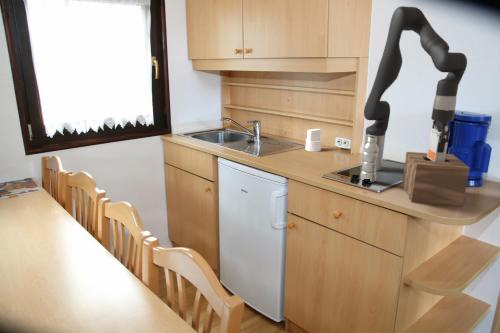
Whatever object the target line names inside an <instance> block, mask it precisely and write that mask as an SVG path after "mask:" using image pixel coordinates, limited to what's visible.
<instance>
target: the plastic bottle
mask: <svg viewBox="0 0 500 333" xmlns="http://www.w3.org/2000/svg"><path fill="white" fill-rule="evenodd" d="M367 141H368V143H367V144H366V145H365V146H364V145H363V149H362V154H363V155H362V162H363V167H362V166H361V172H360V180H361V181H362V180H364V179H370V181H371V182H370V183H374V182H376V178H377V171H376V161H377V156H378V152H379V148H378V146H377V144H376V142H377V137H368V140H367Z"/></svg>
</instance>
